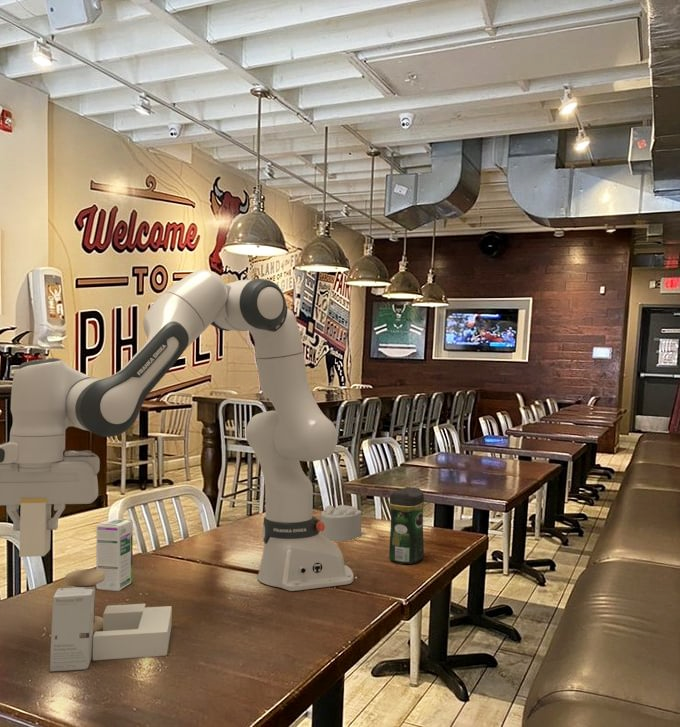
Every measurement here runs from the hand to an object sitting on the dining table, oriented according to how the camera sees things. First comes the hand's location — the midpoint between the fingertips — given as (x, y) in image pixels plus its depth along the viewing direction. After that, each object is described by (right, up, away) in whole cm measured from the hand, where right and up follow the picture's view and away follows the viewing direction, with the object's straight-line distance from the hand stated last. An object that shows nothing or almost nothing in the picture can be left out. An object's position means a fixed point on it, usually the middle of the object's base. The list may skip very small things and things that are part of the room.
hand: (35, 529), depth 112 cm
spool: (+5, -21, +8) cm, 23 cm away
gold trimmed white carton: (0, -4, 0) cm, 4 cm away
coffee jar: (+71, -22, +54) cm, 92 cm away
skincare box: (+9, -21, -7) cm, 24 cm away
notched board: (+17, -21, +2) cm, 27 cm away
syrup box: (+3, -21, +31) cm, 37 cm away
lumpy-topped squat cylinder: (+53, -22, +76) cm, 95 cm away
